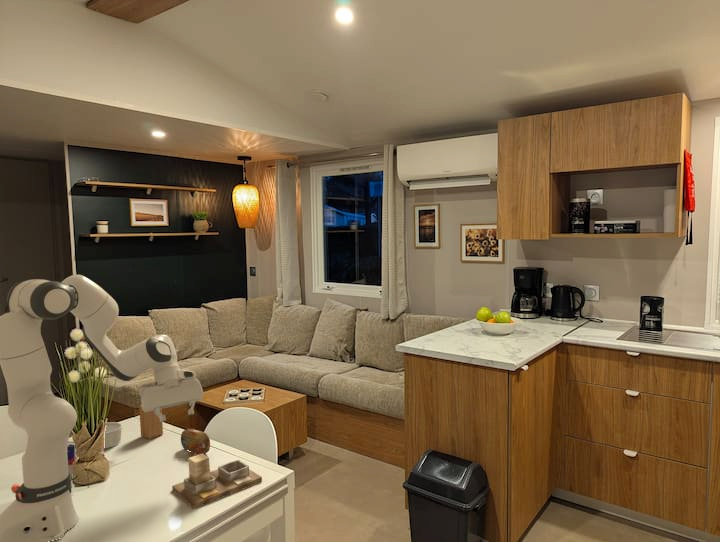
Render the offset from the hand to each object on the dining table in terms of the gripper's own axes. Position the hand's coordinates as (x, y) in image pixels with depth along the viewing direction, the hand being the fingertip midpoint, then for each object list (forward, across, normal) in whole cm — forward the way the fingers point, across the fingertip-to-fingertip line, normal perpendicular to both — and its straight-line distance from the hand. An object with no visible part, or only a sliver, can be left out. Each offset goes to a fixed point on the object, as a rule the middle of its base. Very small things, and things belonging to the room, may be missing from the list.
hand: (177, 417), depth 171 cm
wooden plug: (+24, +2, +2) cm, 24 cm away
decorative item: (-9, +5, +52) cm, 53 cm away
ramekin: (-11, -13, +56) cm, 58 cm away
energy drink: (+2, -29, +36) cm, 46 cm away
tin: (+7, +13, +29) cm, 32 cm away
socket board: (+25, +9, +3) cm, 26 cm away
